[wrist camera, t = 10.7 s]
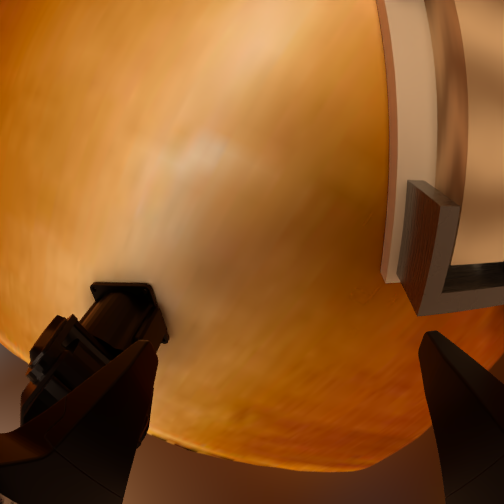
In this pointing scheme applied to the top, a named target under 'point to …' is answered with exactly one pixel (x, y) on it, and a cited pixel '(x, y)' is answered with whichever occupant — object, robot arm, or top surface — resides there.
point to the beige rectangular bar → (471, 121)
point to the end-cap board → (407, 113)
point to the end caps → (441, 258)
